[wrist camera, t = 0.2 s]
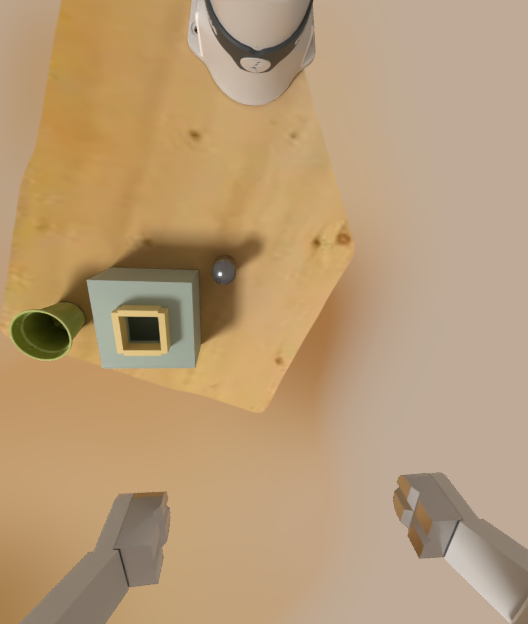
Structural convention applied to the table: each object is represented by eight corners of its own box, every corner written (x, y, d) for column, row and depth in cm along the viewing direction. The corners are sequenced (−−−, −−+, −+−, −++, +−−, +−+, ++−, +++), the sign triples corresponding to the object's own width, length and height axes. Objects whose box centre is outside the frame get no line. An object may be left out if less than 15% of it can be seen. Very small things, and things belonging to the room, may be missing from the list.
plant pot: (95, 297, 54) (70, 315, 46) (95, 341, 57) (71, 364, 49) (41, 289, 53) (6, 305, 44) (44, 334, 56) (11, 357, 48)
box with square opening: (110, 267, 52) (78, 284, 41) (198, 270, 54) (189, 287, 43) (121, 344, 58) (95, 376, 47) (201, 344, 60) (193, 375, 49)
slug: (214, 254, 53) (211, 261, 47) (235, 255, 53) (235, 261, 48) (214, 275, 54) (212, 284, 49) (235, 276, 55) (235, 284, 49)
